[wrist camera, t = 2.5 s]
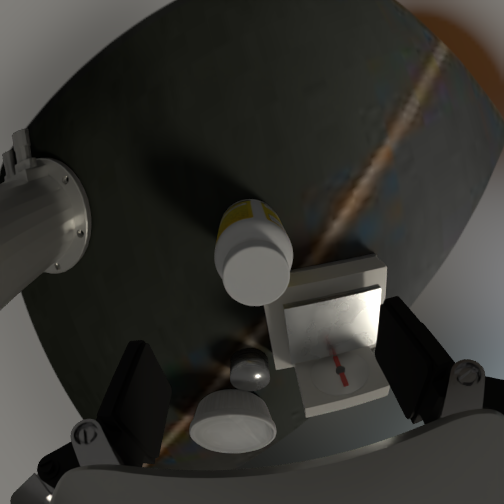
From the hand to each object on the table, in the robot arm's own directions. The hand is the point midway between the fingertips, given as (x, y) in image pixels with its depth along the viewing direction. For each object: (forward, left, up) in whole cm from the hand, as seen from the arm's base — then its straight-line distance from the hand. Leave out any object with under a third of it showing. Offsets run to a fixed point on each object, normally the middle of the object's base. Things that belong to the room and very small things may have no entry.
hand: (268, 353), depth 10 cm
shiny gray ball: (+16, -3, -16) cm, 23 cm away
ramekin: (+25, -7, -17) cm, 31 cm away
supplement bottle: (0, 0, -16) cm, 16 cm away
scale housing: (+10, +6, -16) cm, 20 cm away
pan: (+9, +6, -13) cm, 17 cm away
